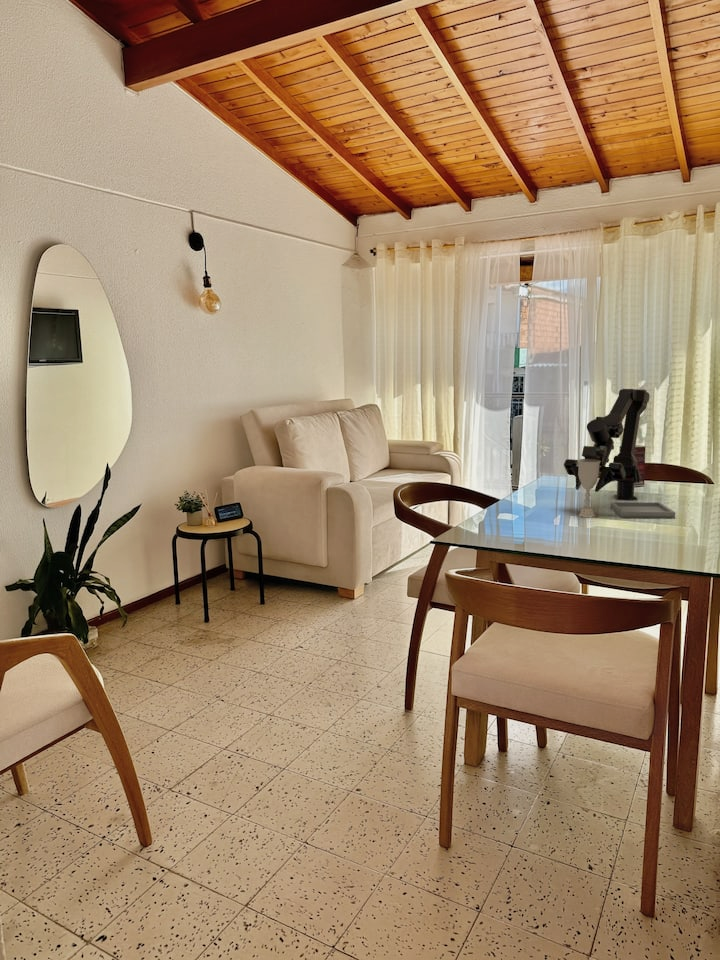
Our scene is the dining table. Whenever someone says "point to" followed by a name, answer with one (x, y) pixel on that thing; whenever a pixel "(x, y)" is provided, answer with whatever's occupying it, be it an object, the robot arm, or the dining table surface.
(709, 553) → the dining table surface
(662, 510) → the tray
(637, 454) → the supplement box
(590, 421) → the robot arm
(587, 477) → the chalice
